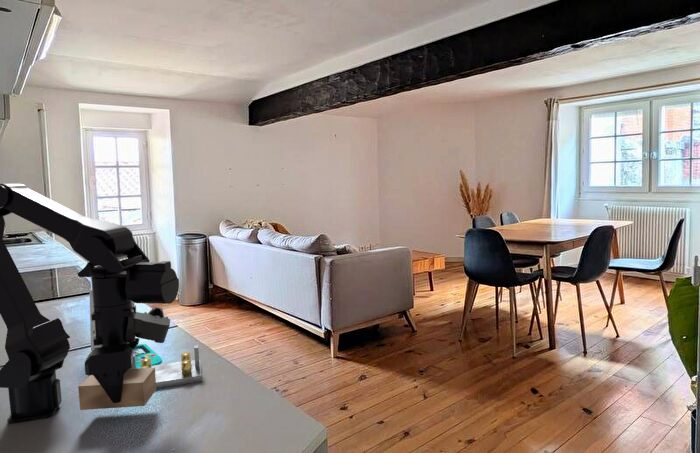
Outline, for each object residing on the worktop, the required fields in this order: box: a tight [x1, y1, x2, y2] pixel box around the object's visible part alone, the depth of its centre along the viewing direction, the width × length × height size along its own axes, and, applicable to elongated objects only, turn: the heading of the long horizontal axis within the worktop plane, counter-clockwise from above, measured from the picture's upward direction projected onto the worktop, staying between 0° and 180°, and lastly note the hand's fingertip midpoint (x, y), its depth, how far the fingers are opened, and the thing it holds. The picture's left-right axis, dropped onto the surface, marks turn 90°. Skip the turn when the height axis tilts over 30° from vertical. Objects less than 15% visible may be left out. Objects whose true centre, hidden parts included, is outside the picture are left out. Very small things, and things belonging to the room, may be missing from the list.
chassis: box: [131, 344, 203, 390], centre depth 92 cm, size 13×9×6 cm
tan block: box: [77, 368, 157, 411], centre depth 77 cm, size 10×6×4 cm, turn 96°
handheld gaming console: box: [133, 343, 163, 368], centre depth 103 cm, size 8×1×15 cm
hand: (119, 393), depth 77 cm, fingers closed on tan block, 7 cm apart
